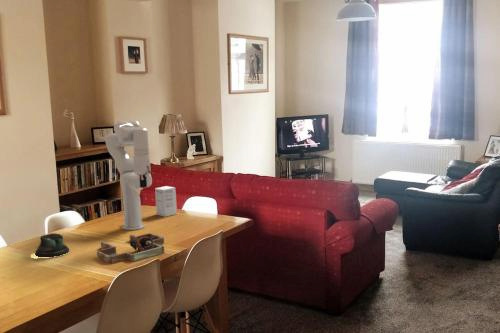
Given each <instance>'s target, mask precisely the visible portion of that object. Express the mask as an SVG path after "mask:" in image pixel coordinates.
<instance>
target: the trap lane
mask: <svg viewBox="0 0 500 333" xmlns="http://www.w3.org/2000/svg"><path fill="white" fill-rule="evenodd" d="M141 237H149V238H151V239H152V240H153V244H154V247H153V249H150V250H146V251H143V252H140V251H139V252H135V253H132V252H131V253H130V252H128V251H126V252H123V253H122V252H121V253H119V254H117V246H114V245H112V244H110V243H108V242H105V241H100V248H101V249H99V250H97V251H96V257H97V259H99V260H101V261H102V262H105V263H108V264H110V263H111V264H115V263H119V262H121V261H126V260H128V261H129V262H135V261H136V262H137V261H140V260H143V259H147V258H150V257H153V256H154V257H155V256H157V255H160V254H164V253H165V246H163V245H164V244H165V237H164V236H161V235H158V234H155V233H151V232H148V233H144V234H141V235H135V234H129V242H130V241H131V240H138V239H139V238H141ZM146 244H148V245H151V241H150V240H148V241H147V242H146Z"/></svg>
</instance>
